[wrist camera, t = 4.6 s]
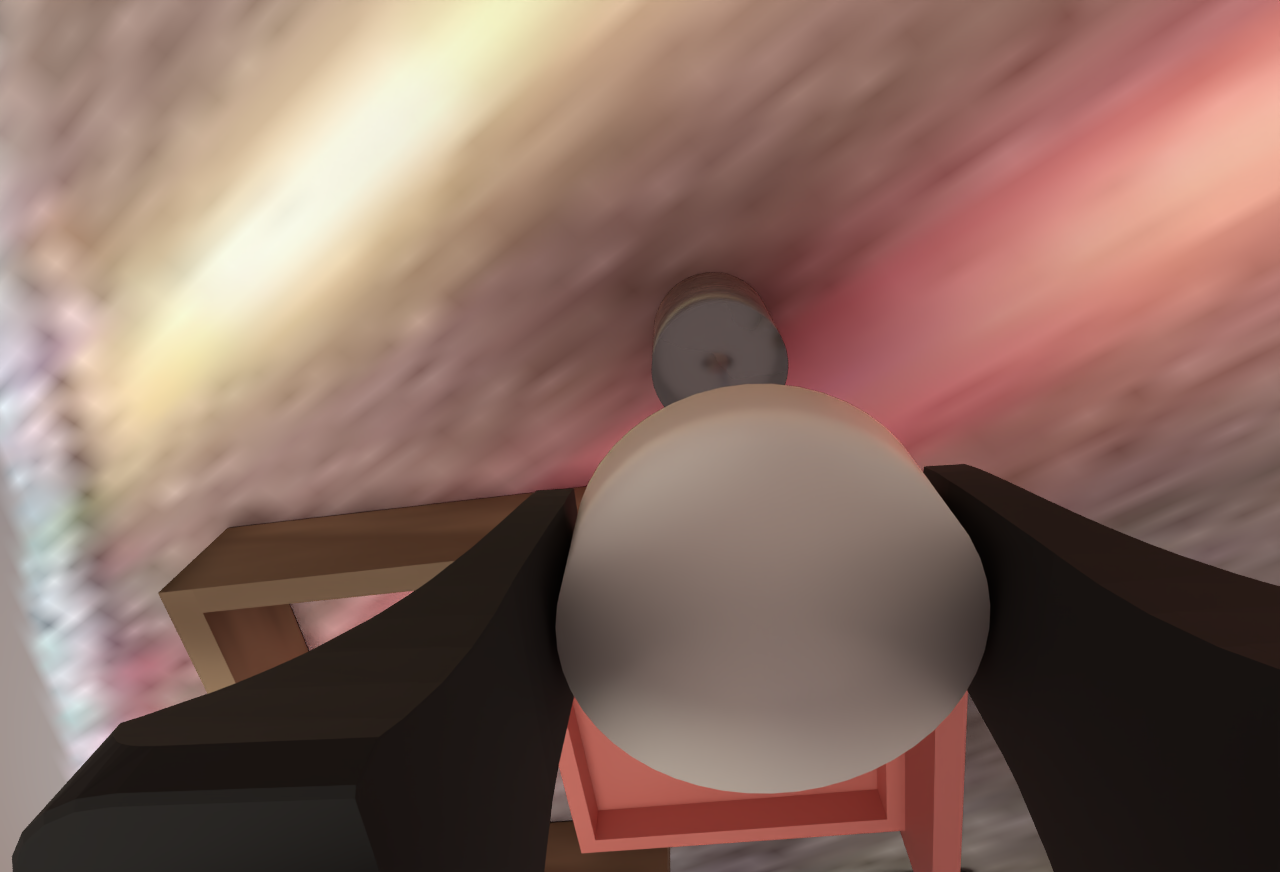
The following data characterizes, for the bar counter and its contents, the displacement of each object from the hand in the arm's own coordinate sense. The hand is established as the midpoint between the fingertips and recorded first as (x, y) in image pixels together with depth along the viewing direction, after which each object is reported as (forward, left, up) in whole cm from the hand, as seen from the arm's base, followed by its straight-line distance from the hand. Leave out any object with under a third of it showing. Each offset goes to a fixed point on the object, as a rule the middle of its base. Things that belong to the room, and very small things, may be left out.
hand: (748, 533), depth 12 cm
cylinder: (+1, 0, -10) cm, 10 cm away
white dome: (0, 0, +1) cm, 1 cm away
